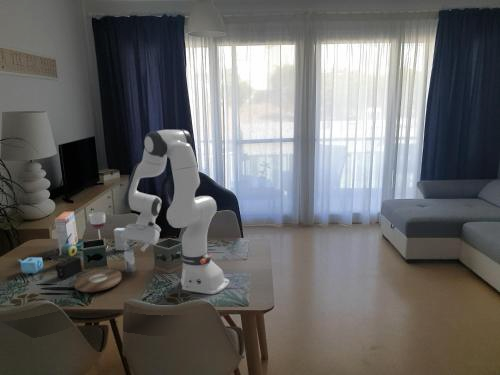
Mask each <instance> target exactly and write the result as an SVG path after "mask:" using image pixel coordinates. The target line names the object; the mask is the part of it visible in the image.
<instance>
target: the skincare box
mask: <svg viewBox="0 0 500 375" xmlns="http://www.w3.org/2000/svg"><path fill="white" fill-rule="evenodd" d="M125 228H126V227H116V228H115V229H113V235H114V236H113V237H114V245H115V246H114V247H115V251H126V250H128V249H125V241H124V240H123V239H122V238H121V234H122V232H123V231H124V229H125Z"/></svg>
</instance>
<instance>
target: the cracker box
mask: <svg viewBox="0 0 500 375" xmlns="http://www.w3.org/2000/svg"><path fill="white" fill-rule="evenodd" d="M75 218H76V216H75V211H63V212H62V213H61V214H60V215H59V216H57V217H56V218H54V225H55V230H56V232H55V233H56V239H57V244H58V245H57V246H58V251H59V254H60V253H61V249H62V247H63V246H64V245H65V244H66V240H67V238H68V237H69V235H70V234H71V236H70V237H69V239H68V242H69V244H72V245H75V244H76V243H77V242H78V241H79V239H78V233H77V225H76V220H75Z"/></svg>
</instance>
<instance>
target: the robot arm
mask: <svg viewBox="0 0 500 375" xmlns="http://www.w3.org/2000/svg"><path fill="white" fill-rule="evenodd" d="M192 142H193V138H192V136H191V134H190V132H189V131H188V130H185V129H181V128H180V129H179V128H178V129H161V130H157V131H156V130H153V131H150V132H148V133H146V135H145V136H144V139H143V146H144V147H143V148H144V149H143V152H142V154H143V155H142V160H141V162H139V163H136V165H135V166H134V167H133V170H132V171H131V175H130V178H129V181H128V184H127V187H126V190H125V192H124V195H123V197H122V200H121V203H122V205H123V207H124V208H125V209H126V210H131V211H136V212H139V213H140V214H139V215H138V218H137V219H136V222H135V223H129V224H127V225H126V226H125V227H124V228H125V229H124V231H123V232H122V234H121V238H122V239H123V240H124V241H125V249H127V250H130V243H131V242H132V243H139V244H140V243H141V244H144V245H143V246H141V247H140V252H145V251H146V249H147V248H148V247H149V246H150V245H154V246H155V245H156V244H157V243H158V242H159V238H160V233H161V231H162V229H161V227H160V226H159V225H158V224H156V219H157V218H158V216H159V213H160V211H161V209H162V199H161V198H160V197H159V196H157V195H153V194H148V193H144V192H140V191H139V190H137V188H138V185H139V183H140V180H141V179H143V178H154V177H158V176H160V175H162V173H164V171H165V169H166V167H167V161H168V160H167V159H169V160H170V167H171V173H172V178H173V184H174V190H173V191H174V193H173V197H172V198H173V199H172V202H171V204H170V206H169V207H168V208H167V211H166V220H167V222H168V224H169V225H170V226H171V227H172V228H175V229H177V228H178V229H181V228H186V230H185V231H184V232H183V234H182V236H181V247H182V248H181V249H182V252H181V262H182V271H181V273H182V274H181V279H180V285H181V290H182V291H188V292H193V293H201V294H206V295H207V294H208V295H214V294H217V293H220V292H221V291H223V290H225V289H226V288H227V287H228V285H229V284H230V279H228V278H226V277H225V274H224V272H223V269H221V268H220V266H219V265H217V264H216V263H215V262H213V260H212V258H213V254H209V250H208V230H209V227H210V223H211V221H212V219H213V217H214V216H215V214H216V213H217V210H218V206H217V202H216V200H215V199H214V198H213V197H212V196H209V195H199V196H195V195H196V191H197V189H198V188H199V187H200V184H201V179H200V175H199V167H198V164H197V158H196V155H195V152H194V150H193V147H192Z"/></svg>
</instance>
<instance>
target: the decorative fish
mask: <svg viewBox="0 0 500 375" xmlns="http://www.w3.org/2000/svg"><path fill="white" fill-rule="evenodd" d="M70 236H71V234H70V235H69V237H70ZM69 237H68V238H67V240H66V244H65V245H64V246H63V247H62V249H61V253H60V252H59V254H58V256H59V257H63V258H64V259H66V260H69V259H71V258H73V256H75V255H76V253H77V251H80V250H81V249H82V246H83V244H84V242H82V241H81V240H78V242H77V243H76V244H75V245H72V244H69V242H68V239H69Z"/></svg>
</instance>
